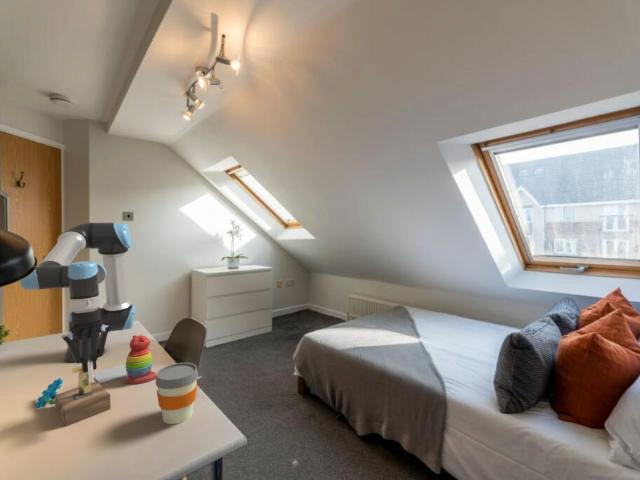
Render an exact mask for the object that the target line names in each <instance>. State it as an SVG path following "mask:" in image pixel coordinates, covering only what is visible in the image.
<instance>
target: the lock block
mask: <svg viewBox="0 0 640 480" xmlns="http://www.w3.org/2000/svg"><path fill="white" fill-rule="evenodd" d="M90 384H91V392H87V393H85V394H82V395H79V386H78V387H75V388H73V389H70V390H66V391H63V392H61V393H60V392H59V393H57V395H55V404H54V406H55V411H56V413H57V415H58V416H59V417H60V419H61V421H62V422H63V424H64V426H65V427H68V426H71V425H73V424H77V423H79V422H81V421H84V420H86V419H88V418H91V417H94V416H97V415H100V414H102V413H104V412H107V411H109V410H111V406H112V405H111V394H110V393H109V392H108V391H107V390H106V389H105V388H104V387H103V386H102V384H99V383H98V382H97V381H95V382H94V381H93V382H90Z"/></svg>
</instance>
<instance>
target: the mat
mask: <svg viewBox="0 0 640 480" xmlns="http://www.w3.org/2000/svg"><path fill="white" fill-rule="evenodd" d="M93 376H94V380H96V382H98V383H99V384H100V385H103V384H106V383H109V382H111V381H115V380H119V379H122V378H124V377H128V375H127V371H126V364H123V363H122V364H120V365H117V366H112V367H110V368H106V369H103V370H100V371H96V372H93Z"/></svg>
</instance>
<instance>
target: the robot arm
mask: <svg viewBox="0 0 640 480" xmlns="http://www.w3.org/2000/svg"><path fill="white" fill-rule="evenodd" d="M132 245H133V244H132V234H131V231H130V228H129V226H128V225H127V224H126V223H125V222H123V223H122V222H84V223H83V222H82V223H79V224H77V225H74V226H71V227H69V228H68V229H66V230H64V231H63V232H62V233H60V235H59V236H58V238H57V241H56V244H55V245H54V246H53V248H52V249H51V250H50V251H49V252H48V253H47V255H46V256H45V257H44V258H43V259H42V261H40V263H39V264H38V265H37V266H35V267H36V268H35V270H34V271H33V272H32V273H31V274H30V275H29V276H28V277H26V278H24V279H23V280H20V279H19V282H20V285H21V288H22V289H24V290H29V291H30V290H33V291H34V290H35V291H36V290H39V291H40V290H50V289H51V290H52V289H63V288H65V289H66V288H69V289H68V290H69V297H70V298H69V302H70V304H69V305H70V312H69V313H68V320H67V322H68V332H67V334H64V335H62V336H61V339H62V340H64V342H66V345H67V349H66V352H65V353H64V360H65V362H68V363H76V364H81V367H82V371H83V372H84V373H86V374H87V376H88V379H89V382H90V383H93V382H94V381H95V378H94V376H93V373H94V371H95V370H97V368H98V367H97V361H98V359H99V358H101V357H103V356H104V354H105V346H106V342H107V338H108V333H110V332H116V331H125V330H129V329H132V327H133V325H134V320H135V316H136V315H135V313H136V305H135V304H132V301H131V300H130V299H128V285H127V284H128V283H127V274H126V273H127V270H126V254H127V253H128V252H129V249H131V248H132ZM89 249H91V250H93V249H94V250H95V249H97V253H98V254H99V255H100V256H101V257H102V264H100V263H97V262H95V261H93V260H92V261H91V260H90V261H85V260H84V261H78V262H73V260H74V259H75V258H76V256H77V255H78V253H80V252H81V251H83V250H89ZM103 282H104V287H105V289H104V290H105V300H106V302H105V303H104V304H103V305H102V306H103V307H100V306H101V305H100V303H101V302H100V292H99V291H100V289H99V284H102V283H103Z"/></svg>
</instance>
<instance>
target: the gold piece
mask: <svg viewBox="0 0 640 480" xmlns="http://www.w3.org/2000/svg"><path fill="white" fill-rule="evenodd" d="M76 373H78V376H77V377H78V381H77V382H78V383H77V384H78V387H79V395H82V394H85V393H87V392H91V382H89V379H88V376H87V374H86V373H84V372H83V371H82V366H78V367H75V368H72V374H76Z"/></svg>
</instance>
